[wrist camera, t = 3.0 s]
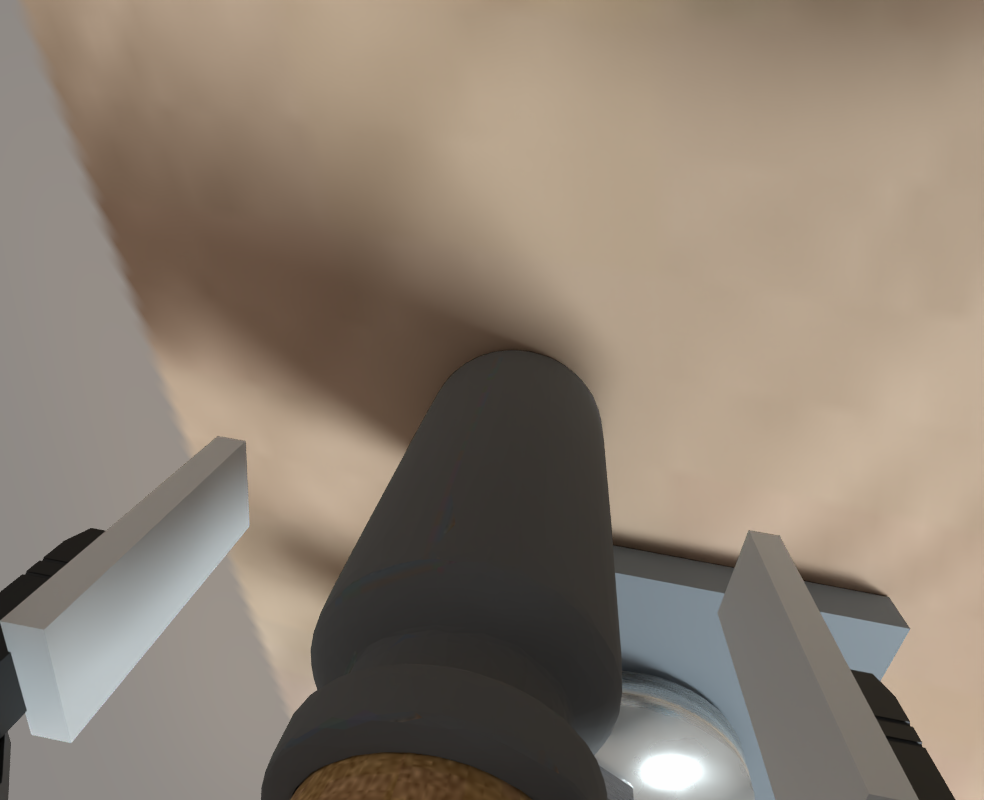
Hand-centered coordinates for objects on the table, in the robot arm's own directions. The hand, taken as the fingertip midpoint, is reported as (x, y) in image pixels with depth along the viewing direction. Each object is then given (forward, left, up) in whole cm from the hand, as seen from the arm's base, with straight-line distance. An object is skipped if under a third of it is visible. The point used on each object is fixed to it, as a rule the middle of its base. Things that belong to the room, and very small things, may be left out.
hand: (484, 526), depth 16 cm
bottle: (0, 0, -6) cm, 6 cm away
